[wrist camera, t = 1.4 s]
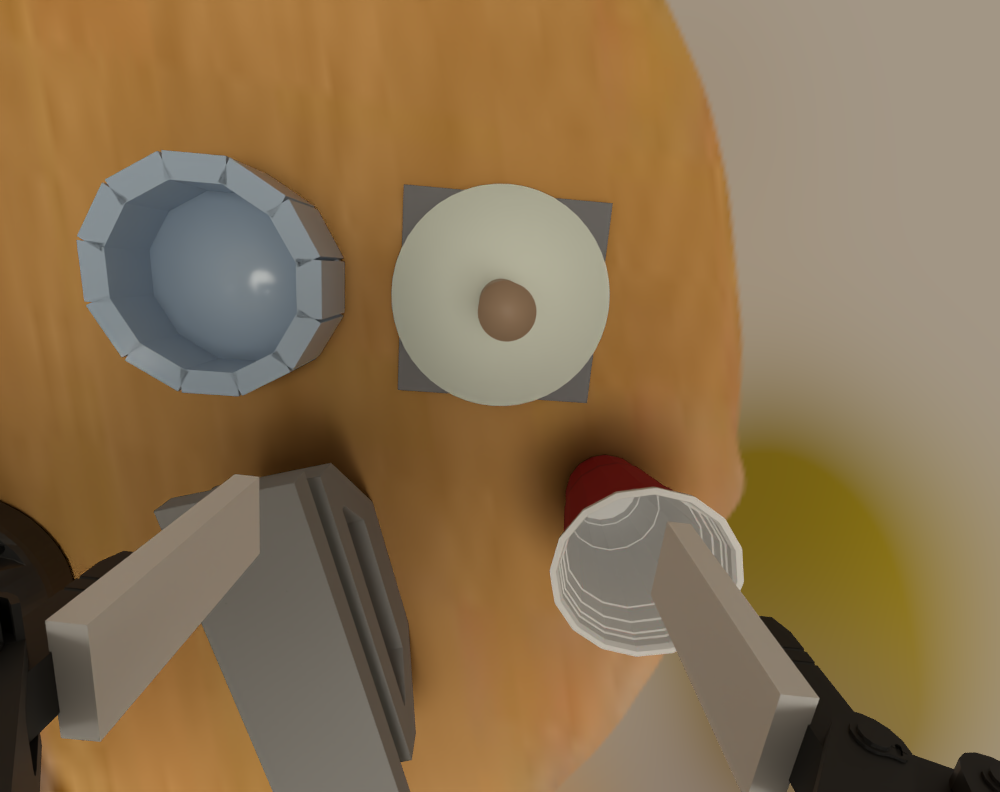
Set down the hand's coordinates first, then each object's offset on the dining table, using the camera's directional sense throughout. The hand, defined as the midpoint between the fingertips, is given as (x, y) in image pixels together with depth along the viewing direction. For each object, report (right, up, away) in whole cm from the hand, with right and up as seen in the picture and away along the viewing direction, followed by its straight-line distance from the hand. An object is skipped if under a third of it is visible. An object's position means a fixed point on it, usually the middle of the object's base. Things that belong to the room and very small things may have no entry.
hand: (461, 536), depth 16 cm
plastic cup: (+9, -3, +23) cm, 25 cm away
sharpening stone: (-12, -10, +25) cm, 29 cm away
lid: (+1, +11, +19) cm, 22 cm away
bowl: (-17, +13, +18) cm, 28 cm away
